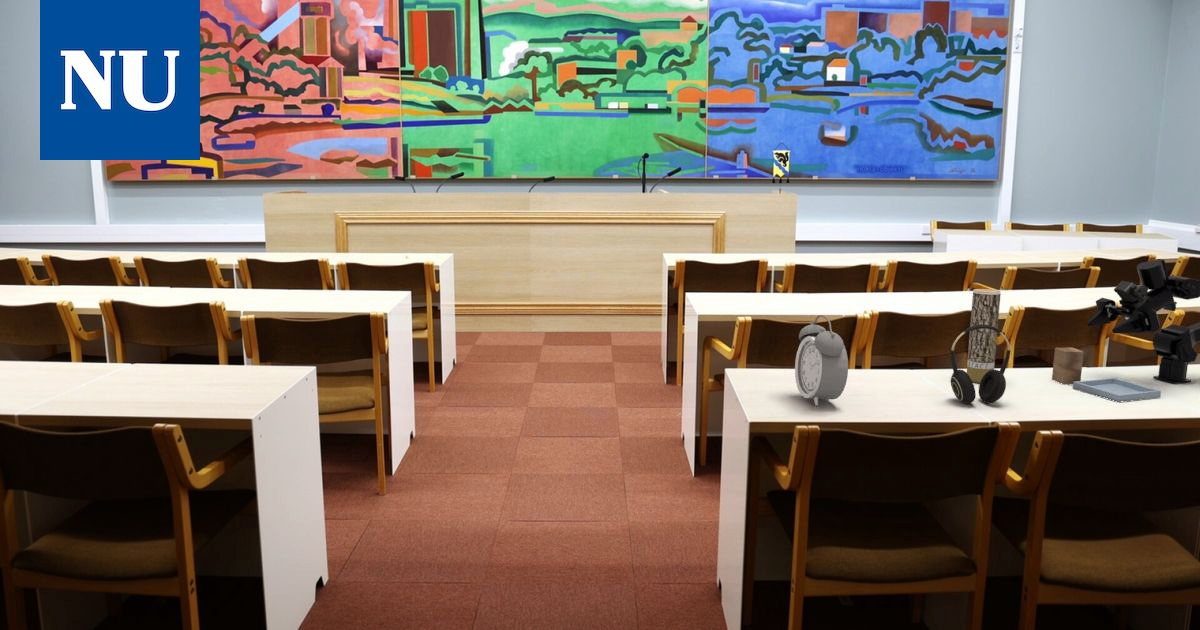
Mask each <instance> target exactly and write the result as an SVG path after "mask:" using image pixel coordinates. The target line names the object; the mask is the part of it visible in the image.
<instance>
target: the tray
mask: <svg viewBox="0 0 1200 630" xmlns="http://www.w3.org/2000/svg"><path fill="white" fill-rule="evenodd" d="M1072 389H1073V390H1077V391H1079V390H1080V392H1083V393H1086V392H1087V393H1086V394H1089V393H1090V394H1089V395H1092V394H1094V395H1093V396H1096V395H1097V396H1096V397H1099V396H1101V397H1100V398H1102V397H1105V398H1108V399H1111V400H1110V401H1112V400H1114V401H1113V402H1115V401H1117V402H1116V403H1118V402H1119V403H1122V402H1121V401H1127V402H1132V401H1131V400H1136V401H1141V400H1140V399H1145V400H1152V399H1153V398H1154V399H1160V398H1161V395H1162V391H1161V390H1160V389H1154V388H1152V387H1149V386H1144V385H1141V384H1137V383H1134V382H1131V381H1127V380H1123V379H1119V378H1117V377H1109V378H1108V377H1106V378H1100V379H1097V378H1096V379H1088V380H1081V381H1076V382H1073V384H1072ZM1105 398H1104V399H1105ZM1108 399H1107V400H1108Z"/></svg>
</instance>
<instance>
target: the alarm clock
mask: <svg viewBox="0 0 1200 630" xmlns="http://www.w3.org/2000/svg"><path fill="white" fill-rule="evenodd" d="M819 318H824V319H825V320H826V321H827V322H828V325H829V326H828V327H829V330H826V328H825V327H824V326H821V325H819V324H817V322H818V319H819ZM798 339H799V341H800V343H799V346H798V349H797V351H796V356H795V363H794V364H795V365H794V377H795V383H796V387H797V390H798V392H799V394H800V395H801V396H803V397H802V398H805V399H813V401H814V406H815V405H819V399H820V400H826V401H827V400H829V401H830V400H836V399H838V398H839V397H840V396H841V395H842V394H843V392H844V390H845V388H846V385H847V381H848V377H849V376H848V375H849V358H848V354H847V350H846V346H845V344H844V340H843V339H842V337H841V336H840V335H839V334H838V333H835V332H834V331H833V330H832V324H831V320H830V319H829V318H828V316H826V315H823V314H820V315H817V316H816V318H815V320H814V322H810V324H808V325H806V326H804V327H803V328H801V330H800V332H799V334H798Z"/></svg>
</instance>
